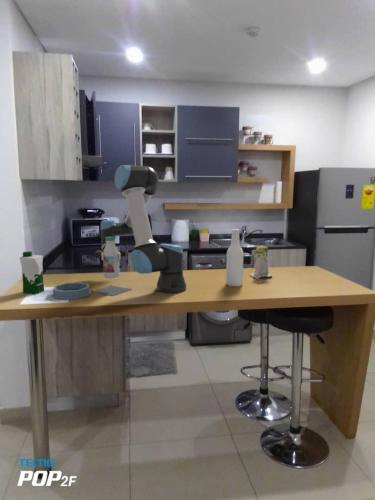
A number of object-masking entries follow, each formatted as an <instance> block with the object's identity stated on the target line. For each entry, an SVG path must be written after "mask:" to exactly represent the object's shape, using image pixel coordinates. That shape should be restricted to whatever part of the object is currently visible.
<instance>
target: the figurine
mask: <svg viewBox="0 0 375 500" xmlns="http://www.w3.org/2000/svg"><path fill="white" fill-rule="evenodd" d="M268 252H269V247H268V246H265V245H259V246H257V247H256V248H255V249H254V256H256V257H257V258H256V260H255V263H254V266H253V267H254V268H253V269H254V270H255V271H254V272H251V271H250V273H249V277H251V278H254V279H257V280H258V279H260V278H263V277H267V278H270V277H273V273H269V266H268V260H267V257H268Z"/></svg>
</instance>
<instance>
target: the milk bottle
mask: <svg viewBox="0 0 375 500" xmlns="http://www.w3.org/2000/svg"><path fill="white" fill-rule="evenodd" d="M105 240H106V246H105V248H104V251H103V260H102V269H103V270H102V271H103V277H104V278H105V279H115V278H119V276H120V259H119V256H118V251H119V249H118V248H117V246H116V236H115V237H105Z"/></svg>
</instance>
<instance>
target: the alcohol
mask: <svg viewBox="0 0 375 500" xmlns="http://www.w3.org/2000/svg"><path fill="white" fill-rule="evenodd" d="M225 269H226V274H225V275H226V277H225V278H226V279H225V284H226V285H227V286H229V287H241V286H242V285H244V284H243V282H244V281H243V280H244V278H243V277H244V250H243V248H242V247H241V244H240V229H239V228H232V229H231V241H230V246H229V247H228V249H227V251H226V268H225Z"/></svg>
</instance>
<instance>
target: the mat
mask: <svg viewBox="0 0 375 500" xmlns="http://www.w3.org/2000/svg"><path fill="white" fill-rule="evenodd" d="M130 290H132V288H129V287H122V286H117V285H108V286H104V287H102V288H98V289H95V290H92V291H91V293H95V294H101V295H104V296H105V295H106V296H110V297H114V296H117V295H120V294H123V293H127V292H128V291H130Z"/></svg>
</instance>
